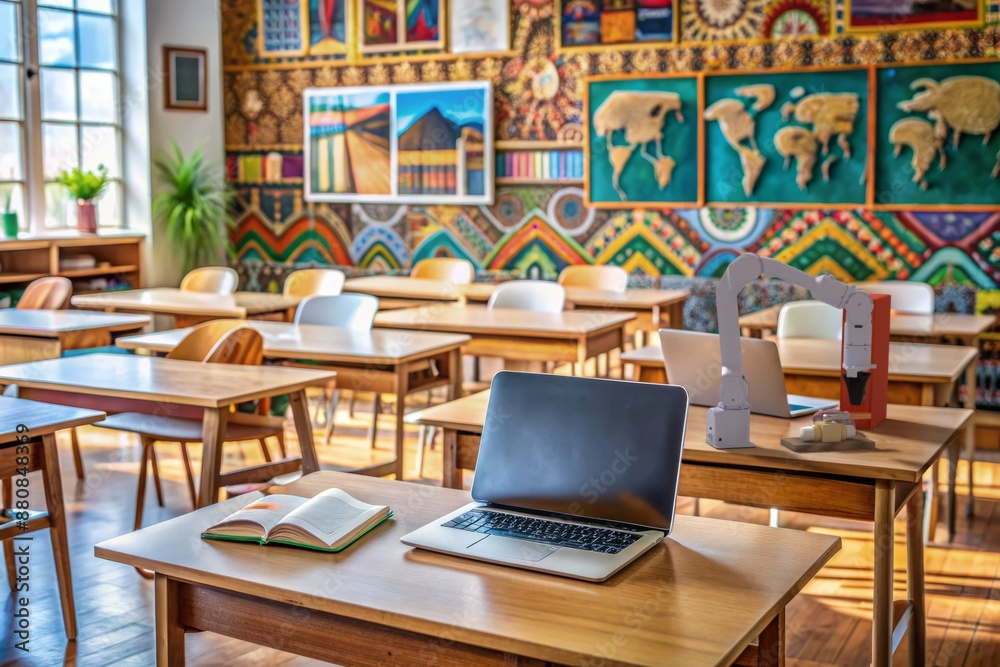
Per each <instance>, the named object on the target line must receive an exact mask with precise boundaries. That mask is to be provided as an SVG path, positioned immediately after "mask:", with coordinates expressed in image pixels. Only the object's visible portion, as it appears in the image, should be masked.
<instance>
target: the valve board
mask: <svg viewBox="0 0 1000 667" xmlns="http://www.w3.org/2000/svg"><path fill="white" fill-rule="evenodd" d="M779 442H780V445H781V446H782V447H785V448H786V449H788V450H790V451H792V452H794V453H798V452H799V453H802V452H823V451H824V452H825V451H843V450H844V451H845V450H846V451H847V450H849V451H850V450H866V449H867V450H868V449H876V441H874V440H872V439H870V438H867V437H865V436H863V435H860V434H856V435H855V438H854V439H846V440H841V441H840V442H821V441H818V442H813V441H802V440H801V439H800V436H798V437H797V436H796V437H780V441H779Z"/></svg>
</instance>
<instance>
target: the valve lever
mask: <svg viewBox="0 0 1000 667" xmlns="http://www.w3.org/2000/svg"><path fill="white" fill-rule="evenodd" d="M833 419H850V420H852V419H871V413H869V412H856V413H847V414H825V415H823V421H824V422H832V420H833Z"/></svg>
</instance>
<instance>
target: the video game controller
mask: <svg viewBox="0 0 1000 667" xmlns="http://www.w3.org/2000/svg"><path fill="white" fill-rule="evenodd" d="M847 413H849V412H848V411H845V412H843V411H840V410H839V409H837V408H827V409H824V410H823V409H822V408H821V409H819V410H818V411H816V412H815V413H814V414H813V415H812V422H813V423H814V422H816V421H823V415H825V414H847ZM832 421H834V422H837V423H839V424H842V423H843V424H845V425H853V426H854V427H855V430H857V429H856V425H855V421H854V419H852V420H850V419H833V420H832Z"/></svg>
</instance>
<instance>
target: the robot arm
mask: <svg viewBox="0 0 1000 667" xmlns="http://www.w3.org/2000/svg"><path fill="white" fill-rule="evenodd" d="M761 275H762V279H769V278H770V279H771V278H778V279H780V280H783V281H785V282H788V283H790V284H793V285H795V286H799V287H801V288H804V289H805V290H809V292H810V294H811V296H812V299H815V300H817V301H818V302H819V301H820V302H822V303H824V304H825V305H829V306H831V307H834V308H835V309H838V310H843V308H844V309H846V311H847V312H846V323H845V330H844V363H843V366H842V367H843V368H845V369H846V370H847V372H846V373H843V374H842V377H843V379H844V381H845V383H846V386H847V389H848V395H849V401H850V404H851V405H856V406H860V405H861V403H862V400H863V395H864V391H865V387H866V384H867V382H868V379H869V378H870V376H871V373H870V372H863V370H867V369H871V368H876V364H871V337H872V324H871V320H872V316H871V312H872V310H873V307H874V304H873V301H872V298H871V296H870V295H869V294H870V293H868V292H867V291H866V290H864V289H863V288H857V286H856V285H857V284H856V285H855V284H853V283H852V284H848V283H846V282H843V281H840V280H838V279H837V278H836V275H833V274H831V273H830V274H829V275H827V274H821V275H819V276H814V275H811V274H809V273H808V272H807V273H806V272H805V271H803V270H800V269H797V267H794V266H791V265H789V264H787V263H785V262H782V261H781V260H778V259H775V258H771V257H768V256H765V255H759V254H757V253H755V252H752V251H749V252H744V253H742V254H740V255H738V256H737V257H736V258H735V259H734V260H732V262H730V263H729V264H728V266H727V268H726V270H725V272H724V273H723V275H722V276H721V278H720V280H719V282H718V283H717V285H716V287H715V300H716V311H717V312H716V313H717V325H718V336H719V338H718V339H719V348H720V362H721V384H720V386H719V390H718V398H719V401H718V402H717V403H718V404H717V406H714V407H709V408H708V410H707V412H706V435H705V436H706V439H705V443H708V445H710V446H712V447H713V448H715V449H735V448H753V447H754V448H755V447H757V444H755V443H754V442H752V441H750V440H751V404H750V403H749V402H748V401H747V398H748V396H749V393H750V384H749V381H748V380H747V378H746V376H745V370H744V365H743V355H742V343H741V331H740V318H739V306H738V305H739V304H738V294H740V292H741V291H742V290H743V289H744V288H745V287H746V286H747V285H749V284H750V283H752V282H754V281H756V279H758V278H759V276H761Z"/></svg>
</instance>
